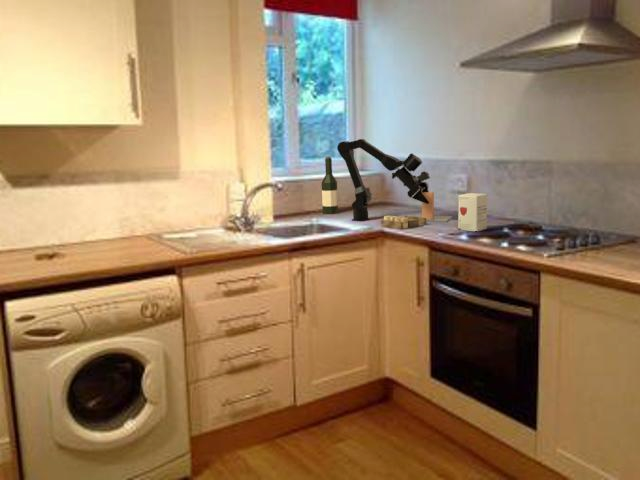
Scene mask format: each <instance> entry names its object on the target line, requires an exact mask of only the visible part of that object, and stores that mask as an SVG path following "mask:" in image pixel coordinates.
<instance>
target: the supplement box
mask: <svg viewBox="0 0 640 480" xmlns="http://www.w3.org/2000/svg"><path fill="white" fill-rule="evenodd" d="M457 218H458V220H457V221H458V225H457V227H458V230H459V231H468V232H475V231H477V232H480V231H483V230H486V229H488V225H487V224H488V193H473V192H472V193H471V192H469V193H464V194H459V195H458V217H457Z"/></svg>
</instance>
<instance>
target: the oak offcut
mask: <svg viewBox="0 0 640 480" xmlns="http://www.w3.org/2000/svg"><path fill="white" fill-rule="evenodd" d="M395 221H396V222H403V229H402V230H407V229H409V228H408V218H406V217H405V216H397V217H395ZM406 228H407V229H406Z"/></svg>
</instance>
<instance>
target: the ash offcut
mask: <svg viewBox="0 0 640 480" xmlns="http://www.w3.org/2000/svg"><path fill="white" fill-rule="evenodd" d="M395 217H398V216H396V215H384V216H383V220H388V221H395Z"/></svg>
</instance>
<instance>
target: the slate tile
mask: <svg viewBox="0 0 640 480" xmlns="http://www.w3.org/2000/svg"><path fill="white" fill-rule="evenodd" d="M412 216H413V217H422V215H412ZM452 220H453V216H452V215H451V216H450V215H449V216H448V215H444V216H443V215H434V218H433V219H426V223H431V222H432V223H447V222H448V221H452Z"/></svg>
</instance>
